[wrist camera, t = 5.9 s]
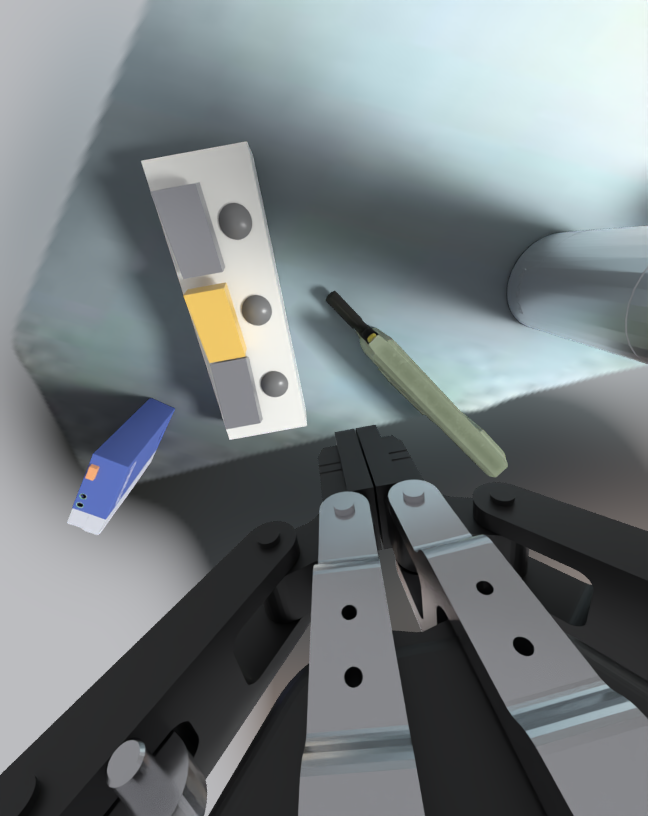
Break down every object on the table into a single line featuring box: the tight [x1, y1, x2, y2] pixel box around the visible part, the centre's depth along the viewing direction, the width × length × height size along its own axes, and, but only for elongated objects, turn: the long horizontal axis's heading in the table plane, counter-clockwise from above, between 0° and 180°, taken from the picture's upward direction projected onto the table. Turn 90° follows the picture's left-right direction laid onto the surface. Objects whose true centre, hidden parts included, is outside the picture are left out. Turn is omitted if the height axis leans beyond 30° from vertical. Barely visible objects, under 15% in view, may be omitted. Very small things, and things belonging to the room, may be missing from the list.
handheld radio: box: [326, 291, 508, 477], centre depth 36 cm, size 7×3×25 cm
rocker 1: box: [183, 282, 247, 363], centre depth 30 cm, size 3×6×2 cm, turn 10°
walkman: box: [67, 398, 175, 535], centre depth 34 cm, size 8×3×12 cm, turn 150°
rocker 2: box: [210, 357, 263, 429], centre depth 32 cm, size 3×6×2 cm, turn 9°
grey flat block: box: [150, 182, 225, 279], centre depth 27 cm, size 3×6×2 cm, turn 9°
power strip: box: [141, 141, 307, 440], centre depth 33 cm, size 8×24×4 cm, turn 9°
